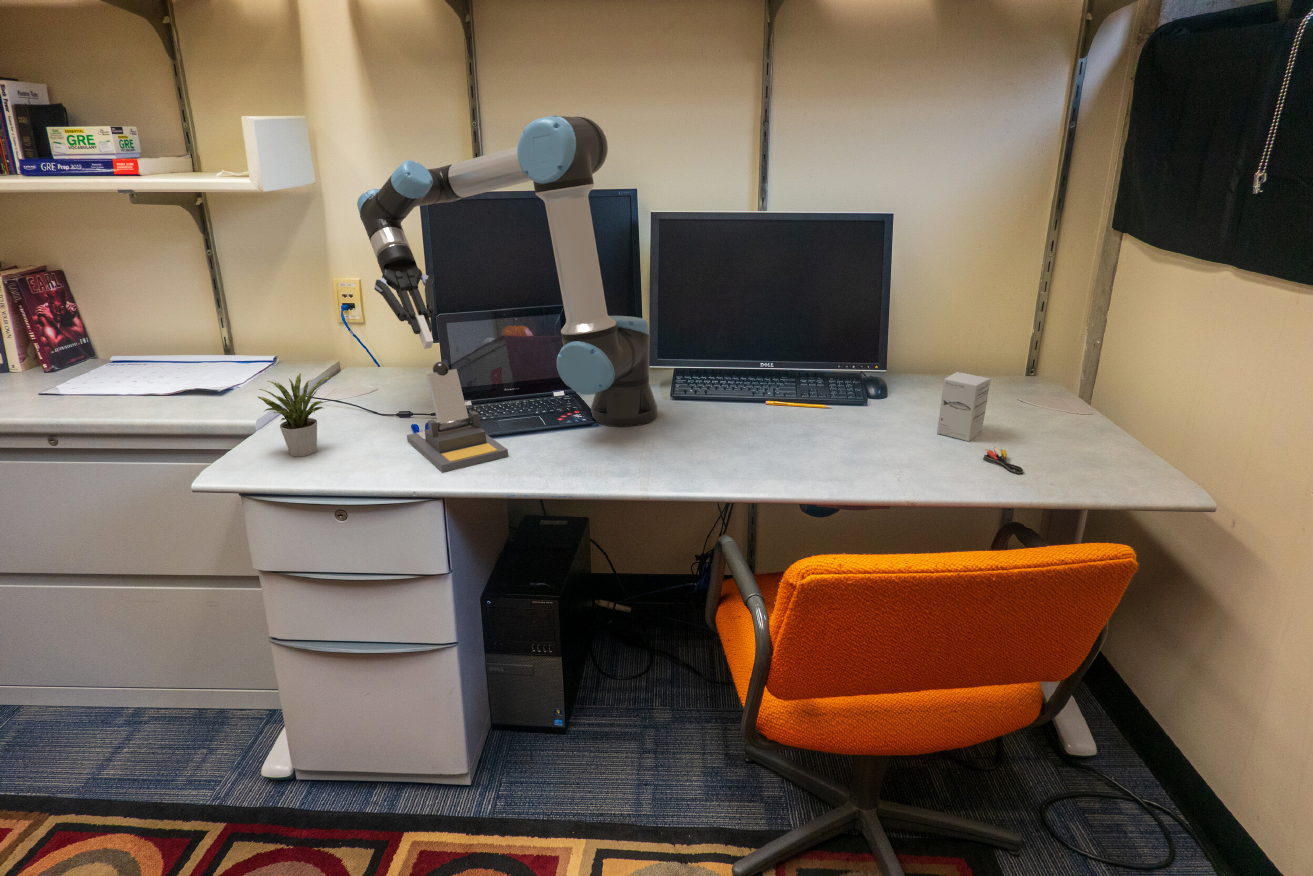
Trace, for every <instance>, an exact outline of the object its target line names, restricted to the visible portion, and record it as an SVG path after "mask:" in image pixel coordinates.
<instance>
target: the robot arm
mask: <svg viewBox="0 0 1313 876" xmlns="http://www.w3.org/2000/svg"><path fill="white" fill-rule="evenodd" d="M608 146H609V145H608V140H607V136H606V134H605V132H604V130H603V128H601V126H600V125H599V124H597V123H596V122H595V121H594V120H592V119H590V118H589V117H585V116H584V117H583V116H565V115H562V116H560V115H548V116H544V117H540V118H536V119H534V120H533V121H530V122H529V124H527V125H526V126H525V128H524V129H523V131H522V132H521V134H520V137H519V139H518V142H517V146H514V147H510V148H506V149H502V150H499V151H496V152H492V153H489V154H488V153H487V154H484V155H481V156H477V157H474V158H470V159H467V160H463V161H459V162H456V163H452V164H448V165H444V166H440V167H436V168H428V169H427V168H426V167H425V166H424V165H423V164H421V163H420V162H415V160H411V159H408V160H405V161H403V162H402V163H401V164H400V165H399V166H398V167H396V169H395V170H393V171H392V173H391V175H390V176H389V178H388V179H387V180H386V181H385V183H384V184H383V186H382V187H381V188H371V189H368V190H367V191H366V192H363V193H361V194H360V195H359V197H358V199H357V204H356V207H357V210H358V212H359V218H360V220H361V223H362V224H363V227H364V230H365V232H366V234H367V237H368V239H369V241H370V242H369V243H370V245H371V247H372V250H373V253H374V255H375V258H376V261H377V263H378V267H379V269H380V271H381V272H380V273H381V275H382V276H381V278H380V279H376V280H375V283H374V288H373V289H374V290H375V291H376V293H379V294H380V295H381V296H382V298H383V299H384V300H385V303H387V305H388V306H389V308H390V309H391V310H392V312H393V313H394V315H395V316H396V317H397V319H398V321H400V322H407V325H409V326H411V329H412V332H413V334H414V335H418V336H419V339H420V341H421V344H422V346H423V349H424V350H427V349H431V348H432V346H433V343H434V339H433V335H432V334H431V332H432V330H433V325H432V323H431V319H430V318H433V317H434V314H435V310H436V307H435V297H434V289H433V283H434V279H435V275H434V274H432V273H430V274H428V275H427V274H425V273H423V272H422V270H421V269H420V268H419V267H418V265H417V260H416V259H415V257H414V254H413V252H412V249H411V246H410V244H409V242H408V239H407V236H406V234H405V231H404V229H403V226H402V222H403V221H404V219H406V218H407V217H408V216H409V214H410V213H411V212H412V211H414V209H415V208H416V207H421V206H429V205H434V204H440V203H441V204H442V203H453V202H456V201H459V200H462V199H463V198H467V197H471V196H475V195H478V194H483V193H487V192H492V191H495V190H499V189H503V188H508V187H512V186H516V185H519V184H525V183H528V182H533V188H534V193H535V196H537V197H538V198H540V200H543V202H544V206H545V211H546V216H547V221H548V227H549V232H550V237H551V238H550V239H551V244H552V249H553V255H554V259H555V266H556V272H557V278H558V283H559V288H560V294H561V299H562V305H563V310H564V315H565V324H564V325H563V327H562V328H561V329H560V333H561V334H560V336H561V342H562V344H563V345H562V347H561V348H560V351H559V353H558V354H557V357H556V368H557V369H556V370H557V372H558V376H559V377H560V379H561V380H562V381H563V383H564V384H565V385H566V386H567V387H569V388H570V389H571V390H572V391H574V392H576V393H578V394H582V395H588V396H590V395H594V397H593V400H592V403H591V408H590V409H591V411H590V413H592V416H593V418H594V419H595V420H596V421H595V422H596V423H598V424H601V425H605V426H610V427H620V428H621V427H635V426H641V425H645V424H648V423H650V422H652V421H654V420H655V419H657V417H658V404H657V402H656V399H655V397H654V393H653V391H652V388H651V384H650V336H651V335H650V332H649V331H650V330H649V323H648V321H647V320H646V319H644V318H642V317H636V316H627V315H609V314H608V309H607V305H606V297H605V293H604V291H605V290H604V285H603V279H602V273H601V267H600V261H599V254H598V250H597V243H596V238H595V231H594V224H593V219H592V213H591V206H590V199H589V194H590V192H591V191H592V189H593V188H594V186H595V183H594V177H593V175H594V174H595V173H597V172H598V171H599V170H600V169H601V168H602V167H603V165H604V164H605V162H606V160H607V157H608V156H607V155H608V151H609V150H608V149H609V147H608ZM420 281H422V285H423V286H424V295H425V296H424V298H425V301H424V299H423V297H422V295H421V291H420V289H419V283H420ZM392 289H393V290H394V291H395V292H396V294H397V296H396V295H395V294H394V292H393V291H392ZM397 297H398V298H399V299H398V298H397ZM410 297H411V299H412V300H411V299H410ZM400 302H401V303H400ZM412 302H413V304H414V306H415V309H414V306H413V304H412ZM415 310H416V311H415ZM416 312H417V314H416Z"/></svg>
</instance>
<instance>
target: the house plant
mask: <svg viewBox="0 0 1313 876" xmlns="http://www.w3.org/2000/svg"><path fill="white" fill-rule="evenodd" d="M301 377H302V373H301V372H300V373H299V374H298V375H297V376H296V378H295V382H294V383H293V381H292V380H291V379H290V378H288V379H289V382H290V387H291V393H292V395H291V393H290V392H289V391H288V389H287V388H286V387H284V386H283V385H282V384H281V383H279V382H275V380H274V379H272V381H270V380H267V382H268V383H270V384H273V386H275V387H276V388H277V389H278V390H279V391H280V392H281V394H282V396H283V397H282V396H280V395H275V394H274V393H272V392H271V391H268V390H265V389H263V388H262V389H261V388H258V390H259V391H263V392H264V393H268V394H269V395H271V396H272V397H274V399H276V400H277V401H279V403H281V405H280V404H279V403H277V402H275V401H273V400H271V399H269V398H266V397H264V396H256V398H258V399H260V400H261V401H263V402H264V404H266V406H268V407H267V408H266V409H264V412H266V411H272V413H273V414H280V415H282V416H283V417H281V419H280V421H279V422H281V424H280V425H279V428H280V431H281V434H282V436H283V439H284V442H285V444H286V447H287V449H288V452H289V454H290V456H293V457H305V456H309V455H312V454H314V453H316V452H317V450H318V420H317V419H316V418H314V417H310V415H312V413H313V414H315V412H316V411H318V410H321V409H326V408H325V407H323V406H318V405H320V404H324V403H325V401H324V402H323V401H319V400H317V401H314V402H313V403H312V404H311V405H310V406H309V404H310V402H311V399H313V397H314V396H315V394H316V393H317V391H318V390H319V388H317V387H319V385H320V384H322V383H323V381H325V380H327V379H330V378H332V377H333V375H332V376H327V377H324V378H321V379H320V380H318V381H317V382H316V383H315V384H314V386H312V388H311V390H310V391H309V392H308V394H307V391H308V389H309V388H308V387H309V382H312V381H313V379H310V380H307V381H306V382H305V384H304V386H303V390H302V394H301V381H302V378H301ZM273 381H274V382H273ZM292 396H293V397H292ZM282 405H283V406H284V407H285V408H284V407H283V406H282ZM308 406H309V407H308ZM282 421H283V422H282Z"/></svg>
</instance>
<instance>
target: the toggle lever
mask: <svg viewBox="0 0 1313 876" xmlns="http://www.w3.org/2000/svg"><path fill="white" fill-rule="evenodd" d="M426 381H427V384H428V387H429V388H428V389H429V392H430V397H431V401H432V403H433V405H432V406H433V408H434V411H435V417H436V422H437V427H438V432H443V431H447V430H452V429H457V428H461V427H466V426H471V425H472V419H471V417H470V415H469V414H468V410H467V405H466V402H465V399H464V395H463V391H462V390H463V389H462V385H461V381H460V378H459V374H458V370H457V368H455V369H454V368H453V369H450V368H449V365H448V364H447V363H446V362H444V361H437V362H435V364H434V365H433V366H432V372H430V373H427V374H426Z"/></svg>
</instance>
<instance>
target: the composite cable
mask: <svg viewBox="0 0 1313 876" xmlns="http://www.w3.org/2000/svg"><path fill="white" fill-rule="evenodd" d="M985 450H986V454H984V456H983V458H982V459H983V460H984V461H986V462H988V463H991V464H993V465H997V466H999V467H1001V468H1003V469H1004V470H1005V471H1007V472H1009V473H1011V474H1014V475H1019V476H1020V475H1023V474H1024V469H1023V468H1022V467H1020V465H1019V466H1018V465H1015V464H1012V463H1007V461H1008V460H1007V458H1008V457H1007V456H1008V454H1007V451H1006V450H1005V449H1002V448H999V447H997V446H994V447H993V450H990V449H987V448H986V449H985Z"/></svg>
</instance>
